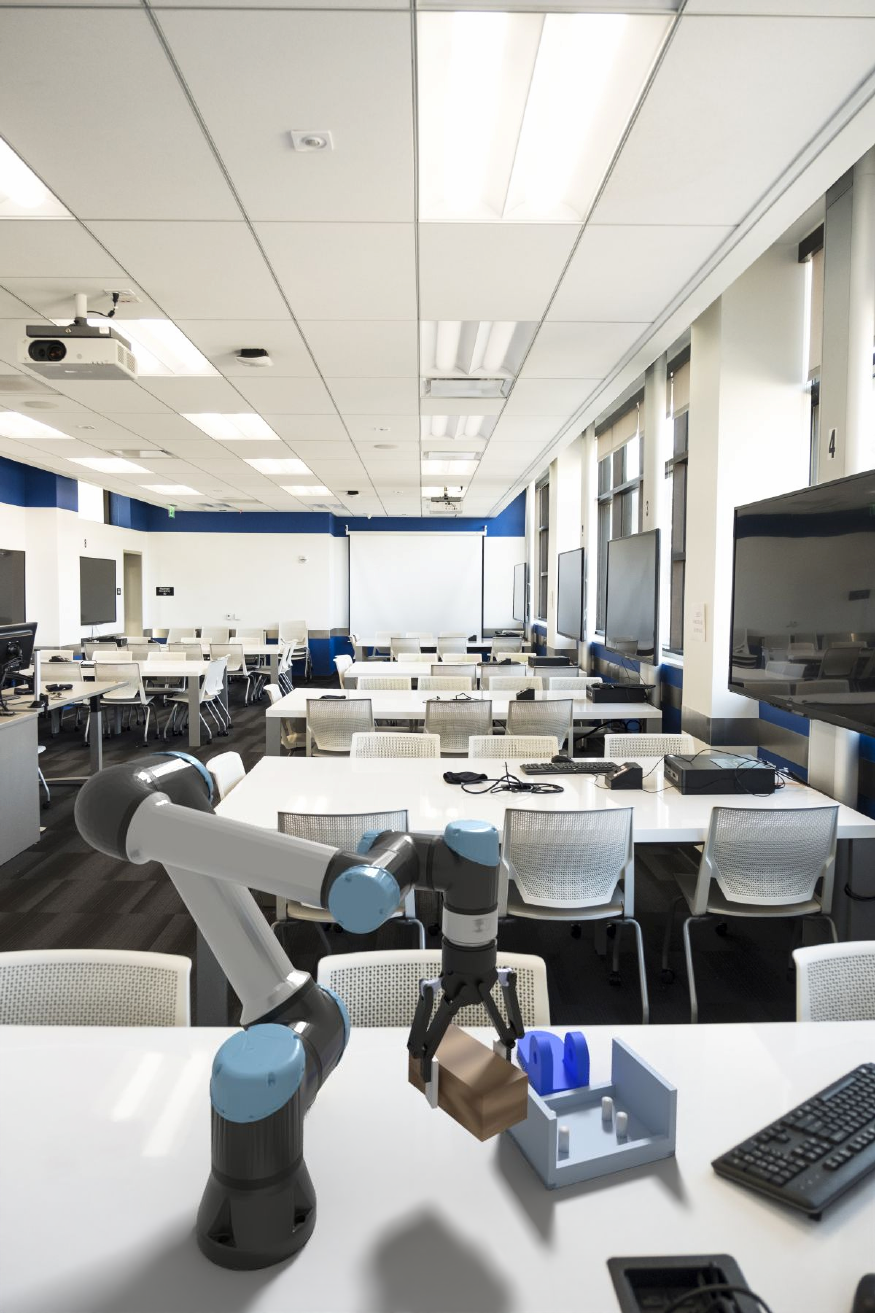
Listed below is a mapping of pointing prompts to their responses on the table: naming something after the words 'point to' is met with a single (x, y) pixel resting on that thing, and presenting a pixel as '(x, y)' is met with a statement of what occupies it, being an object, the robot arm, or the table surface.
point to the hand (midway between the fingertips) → (465, 1095)
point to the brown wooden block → (475, 1085)
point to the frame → (600, 1123)
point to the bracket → (555, 1061)
